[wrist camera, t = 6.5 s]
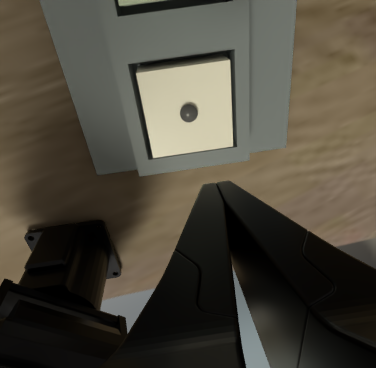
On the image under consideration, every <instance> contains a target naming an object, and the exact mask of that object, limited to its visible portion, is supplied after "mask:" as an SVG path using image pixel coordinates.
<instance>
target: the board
mask: <svg viewBox="0 0 376 368" xmlns="http://www.w3.org/2000/svg"><path fill="white" fill-rule="evenodd" d="M40 3H41V6H42V9H43V12H44V15H45V19H46V22H47V25H48V28H49V31H50V34H51V37H52V40H53V43H54V46H55V49H56V52H57V55H58V58H59V61H60V64H61V67H62V70H63V73H64V76H65V79H66V82H67V85H68V88H69V91H70V94H71V97H72V100H73V103H74V106H75V109H76V112H77V115H78V118H79V121H80V124H81V127H82V130H83V133H84V136H85V139H86V142H87V145H88V148H89V151H90V154H91V157H92V160H93V164H94V167H95V170H96V173H97V175H103V174H110V173H117V172H124V171H131V170H137V169H138V173H139V177H140V176H147V175H153V174H160V173H167V172H174V171H181V170H187V169H194V168H201V167H208V166H214V165H221V164H228V163H235V162H242V161H248V160H249V153H253V152H260V151H267V150H273V149H280V148H286V141H287V127H288V114H289V100H290V86H291V73H292V59H293V45H294V32H295V18H296V4H297V0H167V1H159V2H152V3H145V4H138V5H130V6H119V3H118V0H40ZM219 54H222V55H224V56H225V57H227V58H228V59H230V70H231V99H232V128H233V146H232V147H226V148H219V149H212V150H205V151H198V152H191V153H185V154H178V155H171V156H164V157H157V158H153V155H152V150H151V145H150V140H149V135H148V130H147V125H146V120H145V115H144V110H143V105H142V100H141V96H140V91H139V86H138V81H137V76H136V72H137V69H138V66H141V65H148V64H155V63H162V62H169V61H176V60H183V59H191V58H198V57H205V56H212V55H219Z"/></svg>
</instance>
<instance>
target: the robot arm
mask: <svg viewBox="0 0 376 368" xmlns="http://www.w3.org/2000/svg"><path fill="white" fill-rule="evenodd" d="M97 226H101V227H97ZM31 236H33V237H31ZM24 238H25V240H26V242H27V244H28V246H29V247H30V249H31V251H32V253H31V255H30V257H29V259H28V261H27V263H26V265H25V267H24V268H25V272H24V274H23V276H22V278H21V280H20V282H19V284H15V283H12V282H13V281H11V280H8V279H4V280H3V282H2V284H1V286H0V368H246V364H245V359H244V354H243V349H242V344H241V337H240V329H239V322H238V312H237V305H236V297H235V287H234V280H233V270H232V265H233V268H234V270H235V273H236V276H237V278H238V281H239V284H240V287H241V289H242V292H243V295H244V297H245V300H246V303H247V306H248V308H249V311H250V314H251V316H252V319H253V322H254V324H255V327H256V330H257V333H258V335H259V338H260V341H261V343H262V346H263V349H264V351H265V354H266V357H267V360H268V362H269V365H270V368H376V269H375V268H373V267H371V266H369V265H367V264H365V263H364V262H362V261H360V260H358V259H356V258H354V257H352V256H350V255H349V254H347V253H345V252H343V251H341V250H339V249H337V248H336V247H334V246H333V245H331V244H329V243H328V242H326V241H324V240H323V239H321V238H319V237H318V236H316V235H315V234H313V233H312V232H310V231H308V232H307V229H305V228H303V227H302V226H300V225H299V224H297V223H296V222H294V221H292V220H291V219H289V218H288V217H286V216H284V215H283V214H281V213H280V212H278V211H277V210H275V209H273V208H272V207H270V206H269V205H267V204H266V203H264V202H262V201H261V200H259V199H258V198H256V197H254V196H253V195H251V194H250V193H248V192H247V191H245V190H243V189H242V188H240V187H239V186H237V185H236V184H234V183H232V182H231V181H222V182H217V184H216V183H208V184H203V185H202V187H201V189H200V192H199V194H198V196H197V199H196V201H195V203H194V206H193V208H192V210H191V213H190V215H189V218H188V220H187V222H186V225H185V227H184V229H183V232H182V234H181V236H180V239H179V241H178V243H177V246H176V248H175V251H174V252H173V255H172V257H171V259H170V262H169V264H168V266H167V268H166V270H165V272H164V274H163V276H162V278H161V280H160V282H159V283H158V285H157V287H156V289H155V291H154V292H153V294H152V295H151V297H150V299H149V300H148V302H147V303H146V305H145V307H144V308H143V310H142V312H141V313H140V315H139V317H138V318H137V320H136V321H135V323H134V325H133V326H132V328H131V329H130V331H129V333H128V334H127V326H126V318H125V317H122V316H120V315H118V316H115V315H112V314H109V313H106V312H103V311H100V307H101V303H102V298H103V292H104V287H105V282H106V279H110V278H116V277H119V276H120V275H121V267H120V264H119V262H118V259H117V256H116V253H115V250H114V247H113V245H112V242H111V239H110V236H109V233H108V230H107V227H106V225H105V223H104V222H103V221H100V220H97V221H90V222H83V223H77V224H68V225H61V226H55V227H48V228H43V229H37V230H30V231H28V232H27V233H26V235H25V237H24Z"/></svg>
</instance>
